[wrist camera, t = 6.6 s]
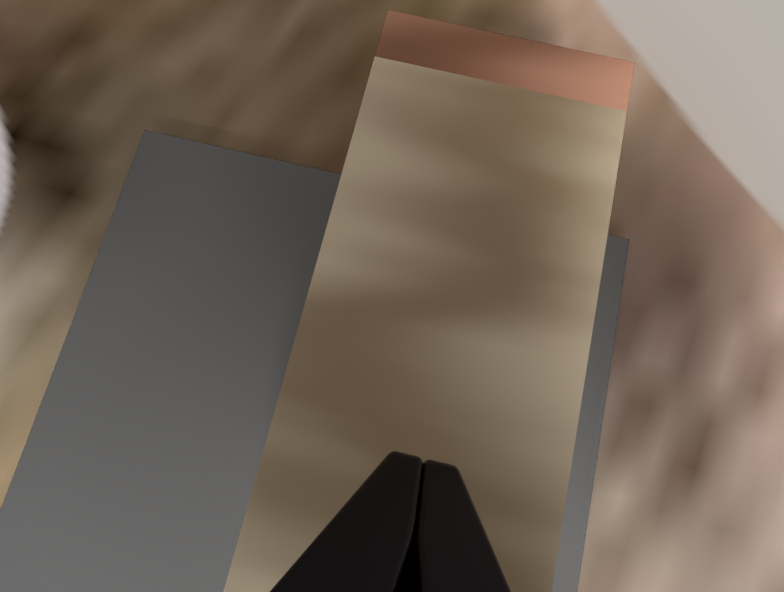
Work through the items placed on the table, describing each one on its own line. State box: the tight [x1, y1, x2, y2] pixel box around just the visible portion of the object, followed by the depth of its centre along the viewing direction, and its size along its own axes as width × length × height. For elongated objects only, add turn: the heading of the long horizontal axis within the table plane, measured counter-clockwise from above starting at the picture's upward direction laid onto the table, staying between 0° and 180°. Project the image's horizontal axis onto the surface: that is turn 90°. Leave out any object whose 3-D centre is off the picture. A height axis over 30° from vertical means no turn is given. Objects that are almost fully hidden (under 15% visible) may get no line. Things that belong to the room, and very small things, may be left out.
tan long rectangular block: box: [223, 10, 635, 592], centre depth 13 cm, size 4×4×10 cm
